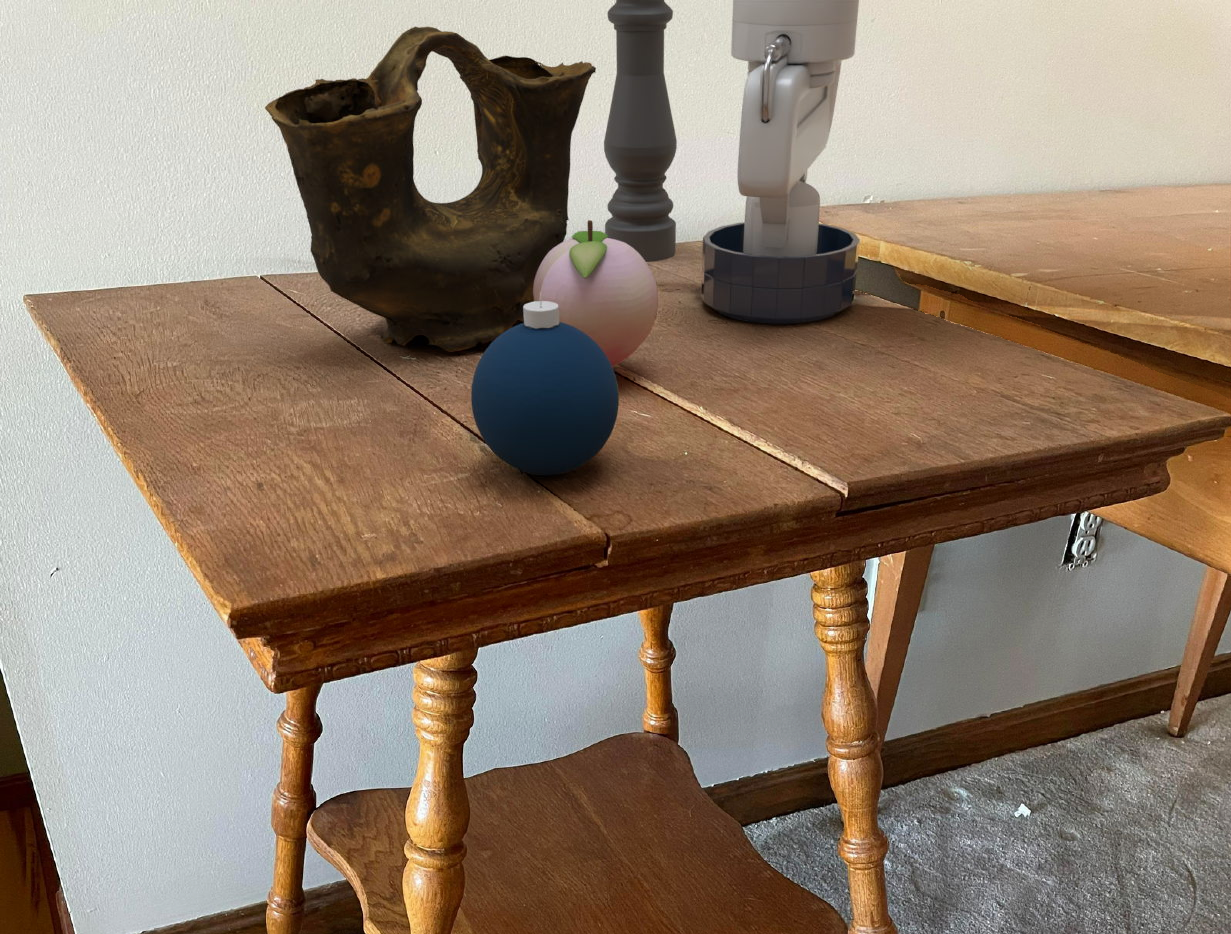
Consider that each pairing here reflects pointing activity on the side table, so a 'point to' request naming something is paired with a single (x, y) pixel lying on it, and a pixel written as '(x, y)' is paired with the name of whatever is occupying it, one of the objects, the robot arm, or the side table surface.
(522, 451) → the christmas ornament
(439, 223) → the pottery vessel
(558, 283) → the decorative fruit
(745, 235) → the eye dropper bottle
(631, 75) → the candle holder
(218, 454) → the side table surface
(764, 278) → the bowl
